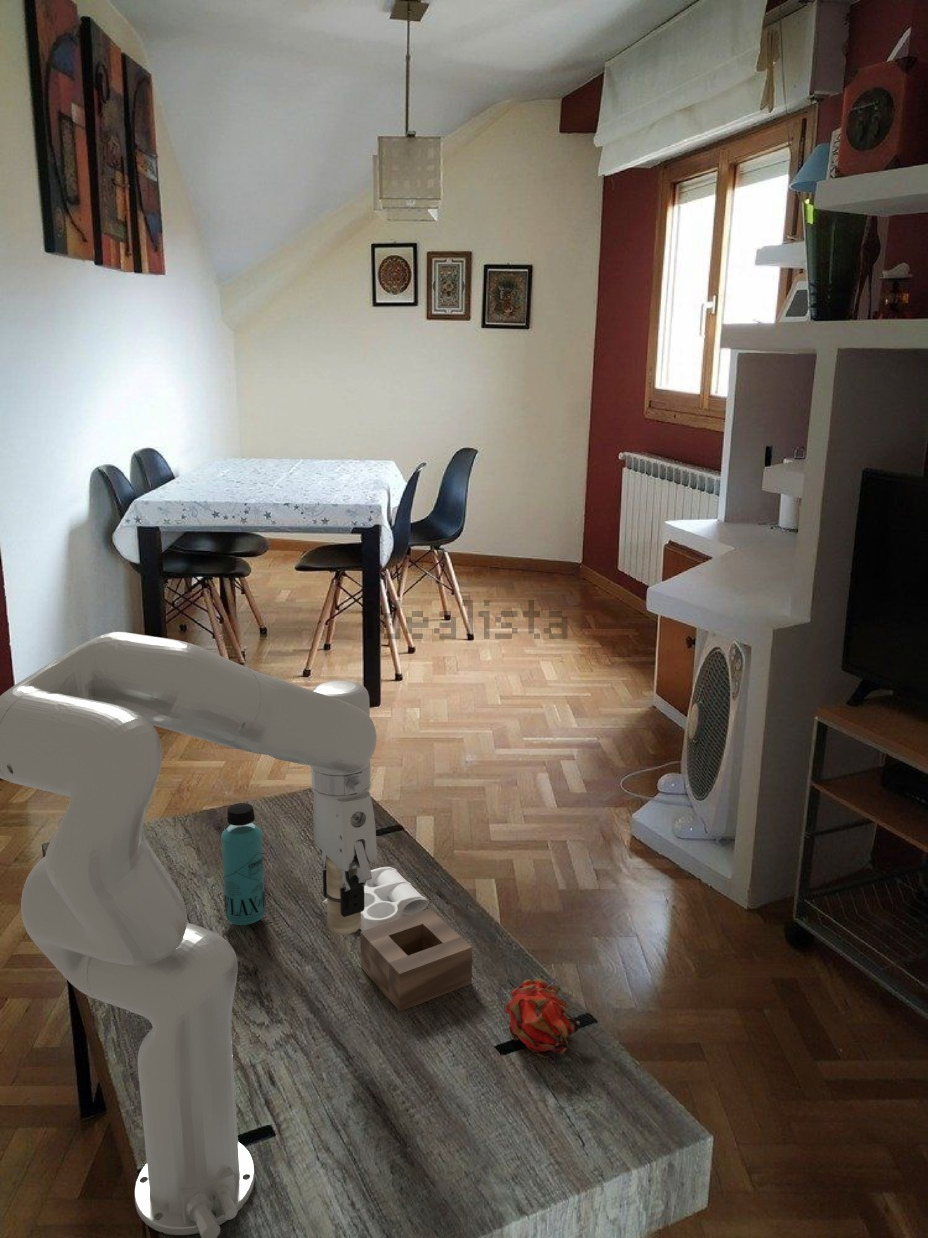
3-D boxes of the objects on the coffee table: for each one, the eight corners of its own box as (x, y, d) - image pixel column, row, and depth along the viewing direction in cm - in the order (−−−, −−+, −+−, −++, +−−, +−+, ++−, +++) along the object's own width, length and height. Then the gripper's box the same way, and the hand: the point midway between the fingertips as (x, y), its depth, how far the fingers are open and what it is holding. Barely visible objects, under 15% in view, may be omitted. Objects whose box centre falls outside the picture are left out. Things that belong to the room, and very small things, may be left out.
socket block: (471, 983, 143) (472, 947, 141) (399, 1011, 137) (399, 974, 135) (429, 943, 152) (429, 908, 151) (361, 967, 146) (360, 931, 145)
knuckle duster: (437, 921, 159) (353, 949, 151) (386, 871, 173) (308, 894, 166) (437, 903, 158) (353, 929, 150) (386, 854, 173) (307, 876, 165)
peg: (367, 928, 132) (366, 860, 129) (336, 939, 130) (334, 870, 127) (352, 912, 136) (351, 846, 133) (321, 922, 133) (319, 855, 131)
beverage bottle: (217, 931, 155) (210, 814, 149) (236, 908, 161) (230, 795, 156) (256, 937, 153) (250, 819, 148) (274, 914, 160) (268, 800, 154)
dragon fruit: (519, 1019, 138) (563, 1086, 128) (478, 1005, 133) (520, 1073, 123) (556, 971, 137) (603, 1034, 127) (516, 955, 132) (561, 1020, 122)
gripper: (398, 795, 122) (399, 926, 127) (338, 749, 136) (341, 869, 141) (343, 809, 118) (346, 943, 123) (287, 760, 132) (292, 883, 137)
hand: (343, 902), depth 132 cm, fingers closed on peg, 4 cm apart
